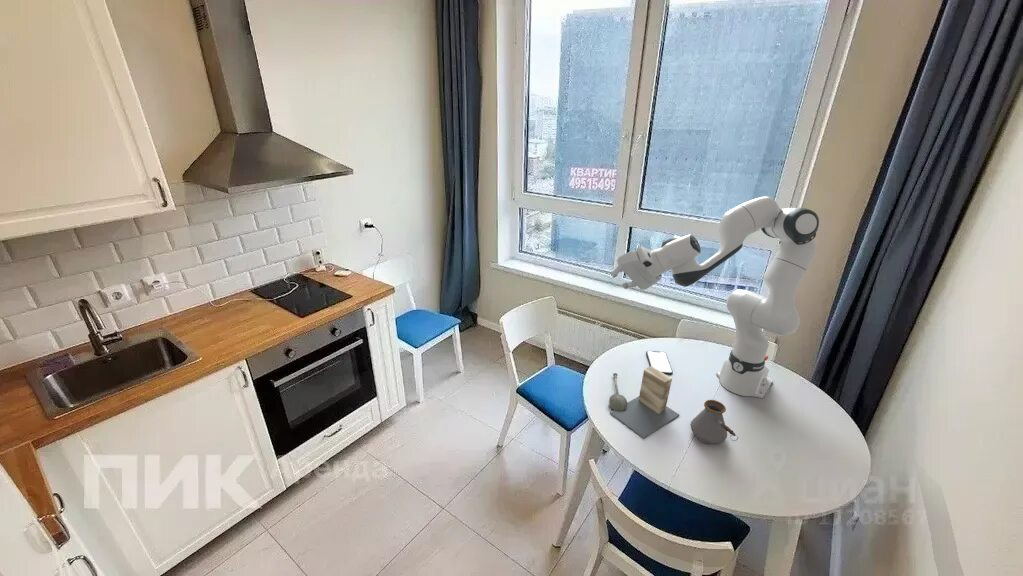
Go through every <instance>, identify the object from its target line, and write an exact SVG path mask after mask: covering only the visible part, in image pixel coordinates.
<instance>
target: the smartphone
mask: <svg viewBox="0 0 1023 576" xmlns="http://www.w3.org/2000/svg"><path fill="white" fill-rule="evenodd" d="M645 354H646V358H647V361H648V365H649V367H650V366H652V367H654V368H655V369H657V370H659V371H660V372H662V373H664V374H665V375H667V376H673V369H672V366H671V364H670V363H671V362H670V361H669V358H668V354H667V353H666V352H664V351H659V350H658V351H657V350H647V351H645Z"/></svg>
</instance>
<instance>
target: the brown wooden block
mask: <svg viewBox="0 0 1023 576" xmlns="http://www.w3.org/2000/svg"><path fill="white" fill-rule="evenodd" d="M642 374H643V375H642V381H641V385H640V390H639V395H638V396H639V401H640V402H642V403H643V404H645V405H646V406H648V407H649V408H651V409H652V410H654V411H655V412H657V413H658V414H659V413H661V412H662V411H664V410H665V409H666V406H667V404H668V399H669V395H670V390H671V386H672V380H673V377H671V376H670V375H666V374H664V373H662V372H660V371H659V370H657V369H655V368H654V367H652V366H650V365H649V367H647V368H644V369H643V373H642Z"/></svg>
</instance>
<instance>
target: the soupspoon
mask: <svg viewBox="0 0 1023 576" xmlns="http://www.w3.org/2000/svg"><path fill="white" fill-rule="evenodd" d="M612 375H613V377H614V384H615V394H612V395H610V396H609V399H608V403H609V406H610V408H612V410H617V411H623V410H625V409H626V408H627V403H628V401H627V398H626V397H625V396H624V395H622V394H619V388H618V382H617V381H618V380H617V378H618V373H616V372H614V373H613V374H612Z"/></svg>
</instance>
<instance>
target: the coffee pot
mask: <svg viewBox="0 0 1023 576" xmlns="http://www.w3.org/2000/svg"><path fill="white" fill-rule="evenodd" d="M703 406H704V408H703V410H702V411H700V412H699V413H698V414H697V415H696V416H695V417H694V418H693V419H692V420H691V422H690V424H689V425H690V429H691V432H692V434H693V435H694V436H695V437H696V438H697V439H698V440H699V441H700V442H702V443H704V444H708V445H718V444H719V445H720V444H722V443H723V442H725V441H726V440H727V438H728V433H729V435H730V436H729V438H730V440H731V441H733V442H735V441H737V440H739V436H738V435H737V434H736V433H735V432H734V430H733V429H731V428H730V427H729V426H727V425H726V422H725V419H724V415H723V414H724V413H725V412H726V410H727V408H726V406H725V405H724V404H723V403H722V402H720V401H718V400H715V399H707V400H705V402H704V404H703ZM732 436H733V437H735V436H736V437H737V438H736V439H735V440H733V439H732V438H731V437H732Z"/></svg>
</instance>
